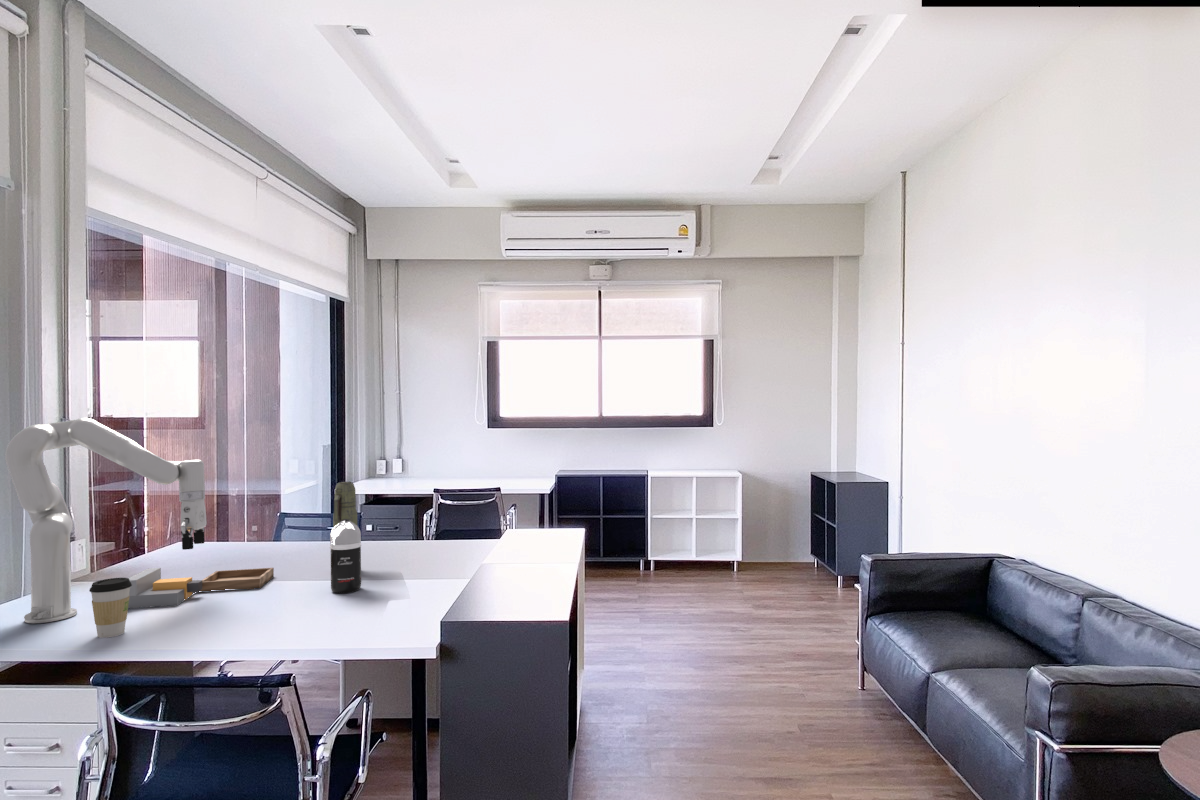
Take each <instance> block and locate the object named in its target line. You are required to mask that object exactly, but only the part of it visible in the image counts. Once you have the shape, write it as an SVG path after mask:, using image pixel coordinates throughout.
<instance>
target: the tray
mask: <svg viewBox="0 0 1200 800" xmlns="http://www.w3.org/2000/svg"><path fill="white" fill-rule="evenodd" d="M274 571H275V570H274V567H263V568H243V569H227V570H226V569H225V570H216V571H214V572H213V573H211V574H209V575H208V576H206V577H205V578H203V579H201V580H202V590H200V591H211V590H225V589H247V590H255V589H254V588H260V589H261V588H262V587H264V586H265V585H266V584H267V583H269V581H271V580H272V579H273V578H274V577H275V576H274V575H275V574H274ZM264 584H265V585H264Z"/></svg>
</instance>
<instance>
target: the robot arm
mask: <svg viewBox="0 0 1200 800" xmlns="http://www.w3.org/2000/svg"><path fill="white" fill-rule="evenodd" d="M75 446H81V447H84V448H85V449H87V450H90V451H92V452H93V453H96V454H98V455H100V456H102V457H103V458H105V459H108V461H111V462H114V463H116V464H117V465H119V466H121V467H124V468H126V469H128V470H130V471H132V472H135V473H136V474H138V475H140V476H141V477H144V478H146V479H148V480H150V481H152V482H154V483H156V484H159V485H171V484H173V483H174V482H177V481H178V493H179V494H178V497H179V499H178V500H179V503H180V502H181V505H180V533H181V546H182V547H181V549H182V551H183V550H193V549H194V545H199V544H201V545H202V544H205V541H206V540H205V527H206V526H207V522H208V521H207V509H206V503H205V500H206V485H205V463H204V461H203V460H201V459H190V460H189V459H186V460H185V459H184V460H181V461H180V460H177V461H176V460H175V461H174V460H166V459H164V458H162V457H160V456H159V455H156V454H155V453H153V452H151V451H149V450H148V449H146V448H144V447H142V446H141V445H140V444H138V442H136V441H135V440H133V439H131V438H129V437H127V436H126V435H124V434H121V433H120V432H117V431H116V430H114V429H111V428H110V427H108V426H106V425H104V424H102V423H100V422H98V421H97V420H95V419H93V418H91V417H90V418H89V417H80V418H77V419H73V420H66V421H65V420H63V421H59V422H50V423H49V422H48V423H43V424H42V423H40V424H38V423H37V424H36V423H35V424H32V425H29V426H27V427H24V428H23V429H22V430H20V431H19V432H18V433H16V434H15V435H14V436H13V437H12V438H11V440H10V441H9V442H8V444H7V446H6V449H5V455H4V456H5V457H4V458H5V463H6V467H7V471H8V472H9V475H10V478H11V481H12V485H13V487H14V490H15V492H16V495H17V498H18V502H19V504H20V506H21V508H22V509H23V510H24V511H26V512H27V513H28V515H29V517H30V521H31V523H32V526H31V529H30V533H29V549H30V573H31V575H30V576H31V577H30V582H31V583H30V590H31V591H30V593H31V594H30V598H31V600H30V612H28V613H26V614H25V615H24V616H23V617H24V618H23V619H24V622H25V623H27V624H45V623H52V622H57V621H62V620H65V619H69V618H71V617H74V616H76V615H77V614H78V610H77V608H73V607H72V605H71V604H72V603H71V602H72V601H71V600H72V599H71V597H72V596H71V595H72V592H71V591H72V590H71V589H72V586H71V585H72V576H71V575H72V573H71V572H72V571H71V567H72V566H71V563H72V562H71V533H72V531H73V527H74V523H73V522H74V521H73V519H72V516H71V514H70V511H69V509H68V506H67V503H66V500H65V499H64V496H63V493H62V491H61V489H60V487H59V486H58V485H57V484H55V483H54V482H52V481H51V479H50V476H49V474H48V471H47V468H46V465H45V462H44V459H43V453H44V452H45V451H51V450H55V449H56V450H57V449H63V448H68V447H69V448H71V447H75Z"/></svg>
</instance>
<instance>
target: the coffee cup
mask: <svg viewBox="0 0 1200 800" xmlns="http://www.w3.org/2000/svg"><path fill="white" fill-rule="evenodd" d="M129 578H130V577H114V578H106V579H100V580H96V581H94V582H92V584H91V586H90V588H89V592H90V593H91V606H92V611H93V618H94V619H93V620H94V624H95V628H96V635H97V638H100V639H105V638H106V639H108V638H113V637H118V636H121V635H123V634H125V630H126V622H127V618H128V611H129V609H128V604H129V597H130V595H129V592H130V587H131V586H132V583H131V582H130V580H129Z"/></svg>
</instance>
